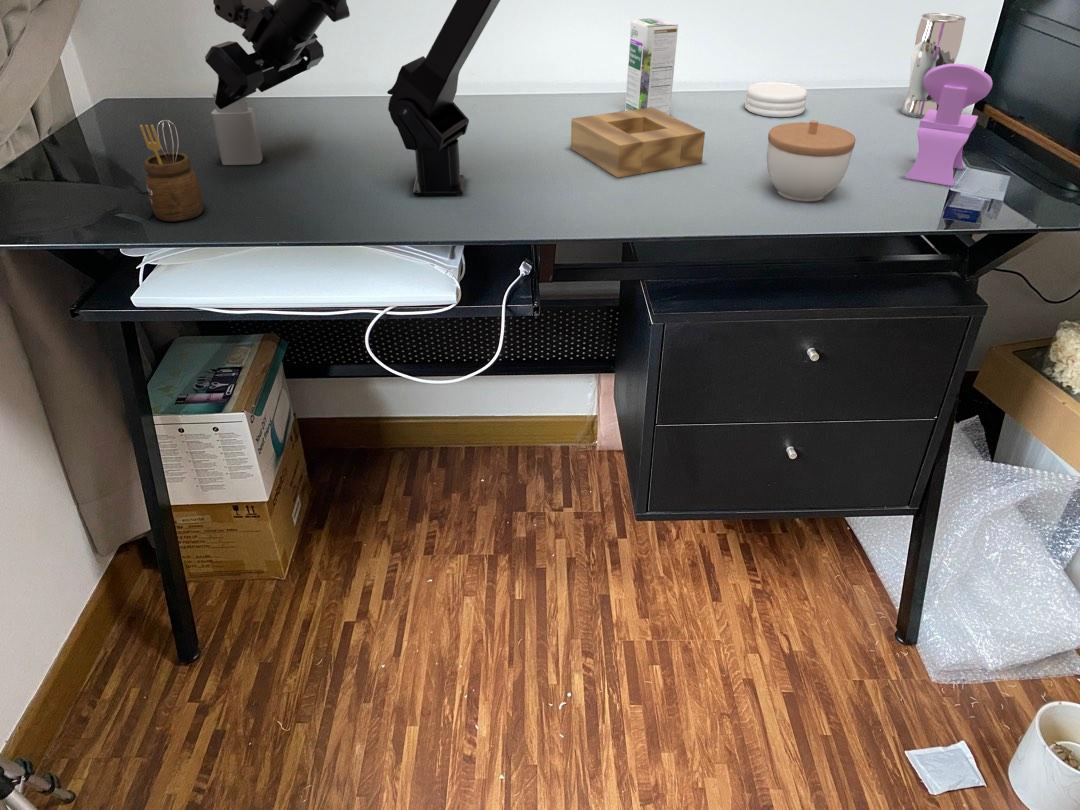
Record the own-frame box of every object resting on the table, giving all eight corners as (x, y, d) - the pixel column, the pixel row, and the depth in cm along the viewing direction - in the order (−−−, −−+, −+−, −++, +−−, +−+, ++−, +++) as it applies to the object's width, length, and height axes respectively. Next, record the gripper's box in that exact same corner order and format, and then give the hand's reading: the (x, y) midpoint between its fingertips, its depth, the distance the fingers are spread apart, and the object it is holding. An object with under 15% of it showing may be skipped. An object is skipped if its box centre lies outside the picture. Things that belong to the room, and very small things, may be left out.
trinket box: (843, 183, 116) (857, 113, 111) (844, 212, 108) (859, 137, 102) (762, 175, 119) (773, 106, 113) (757, 203, 110) (768, 130, 105)
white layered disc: (733, 104, 148) (736, 83, 146) (784, 99, 151) (787, 79, 149) (762, 120, 140) (766, 98, 138) (815, 115, 143) (819, 93, 141)
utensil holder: (210, 204, 109) (189, 109, 103) (195, 223, 104) (172, 124, 98) (164, 205, 109) (139, 109, 103) (147, 224, 104) (119, 125, 97)
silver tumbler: (898, 116, 142) (921, 19, 133) (897, 105, 147) (919, 11, 139) (943, 120, 140) (969, 22, 132) (940, 109, 146) (965, 14, 137)
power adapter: (259, 164, 122) (243, 77, 115) (220, 165, 122) (202, 77, 115) (263, 157, 125) (247, 71, 118) (225, 158, 124) (207, 72, 118)
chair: (971, 168, 121) (1003, 57, 113) (961, 187, 115) (995, 71, 106) (910, 158, 124) (937, 49, 116) (897, 176, 118) (925, 62, 110)
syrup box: (623, 112, 144) (628, 19, 136) (653, 108, 146) (660, 16, 138) (640, 121, 140) (647, 26, 132) (671, 116, 142) (679, 22, 134)
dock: (617, 177, 118) (619, 145, 115) (570, 148, 128) (571, 118, 126) (701, 163, 123) (705, 131, 120) (650, 136, 133) (652, 106, 131)
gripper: (291, -45, 114) (238, 36, 123) (201, -26, 100) (148, 65, 109) (350, 23, 116) (293, 98, 126) (270, 52, 102) (212, 134, 111)
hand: (239, 97), depth 118 cm, fingers open, 9 cm apart
